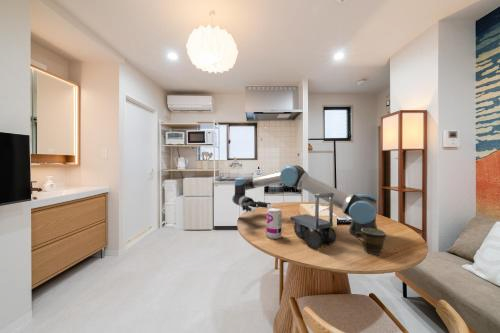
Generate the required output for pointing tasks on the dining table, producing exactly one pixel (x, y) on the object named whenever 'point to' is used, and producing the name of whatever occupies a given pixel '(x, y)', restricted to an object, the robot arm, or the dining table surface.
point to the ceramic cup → (372, 240)
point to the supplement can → (274, 223)
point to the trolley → (316, 225)
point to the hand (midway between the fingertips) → (264, 209)
